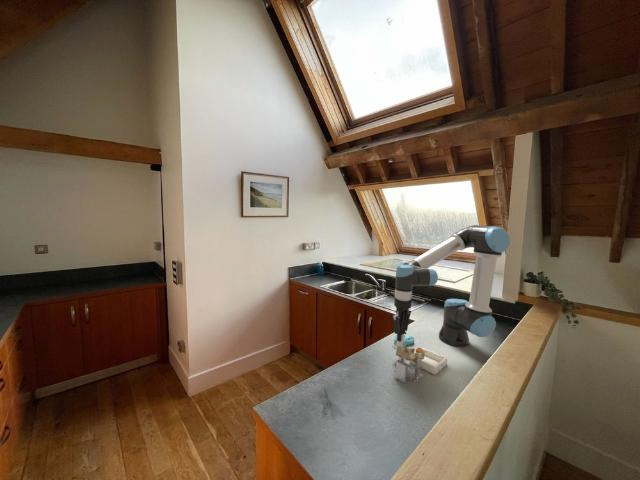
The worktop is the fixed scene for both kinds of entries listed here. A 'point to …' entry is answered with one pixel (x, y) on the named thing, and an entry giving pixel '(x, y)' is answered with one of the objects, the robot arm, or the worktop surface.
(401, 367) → the fulcrum
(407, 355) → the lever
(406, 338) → the toy
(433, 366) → the dish
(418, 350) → the ball
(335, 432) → the worktop surface
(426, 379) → the worktop surface
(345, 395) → the worktop surface
